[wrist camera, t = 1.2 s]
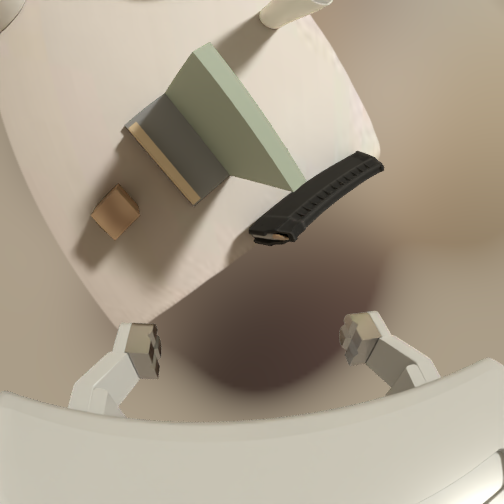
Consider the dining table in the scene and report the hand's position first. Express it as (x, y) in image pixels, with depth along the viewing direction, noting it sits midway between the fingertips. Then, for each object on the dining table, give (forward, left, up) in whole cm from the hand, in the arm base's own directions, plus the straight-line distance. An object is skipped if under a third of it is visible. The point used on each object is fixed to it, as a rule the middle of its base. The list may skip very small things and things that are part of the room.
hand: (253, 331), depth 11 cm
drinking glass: (+19, +35, -38) cm, 55 cm away
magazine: (+29, +1, -38) cm, 48 cm away
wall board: (+4, +8, -38) cm, 39 cm away
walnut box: (-7, -1, -38) cm, 38 cm away
